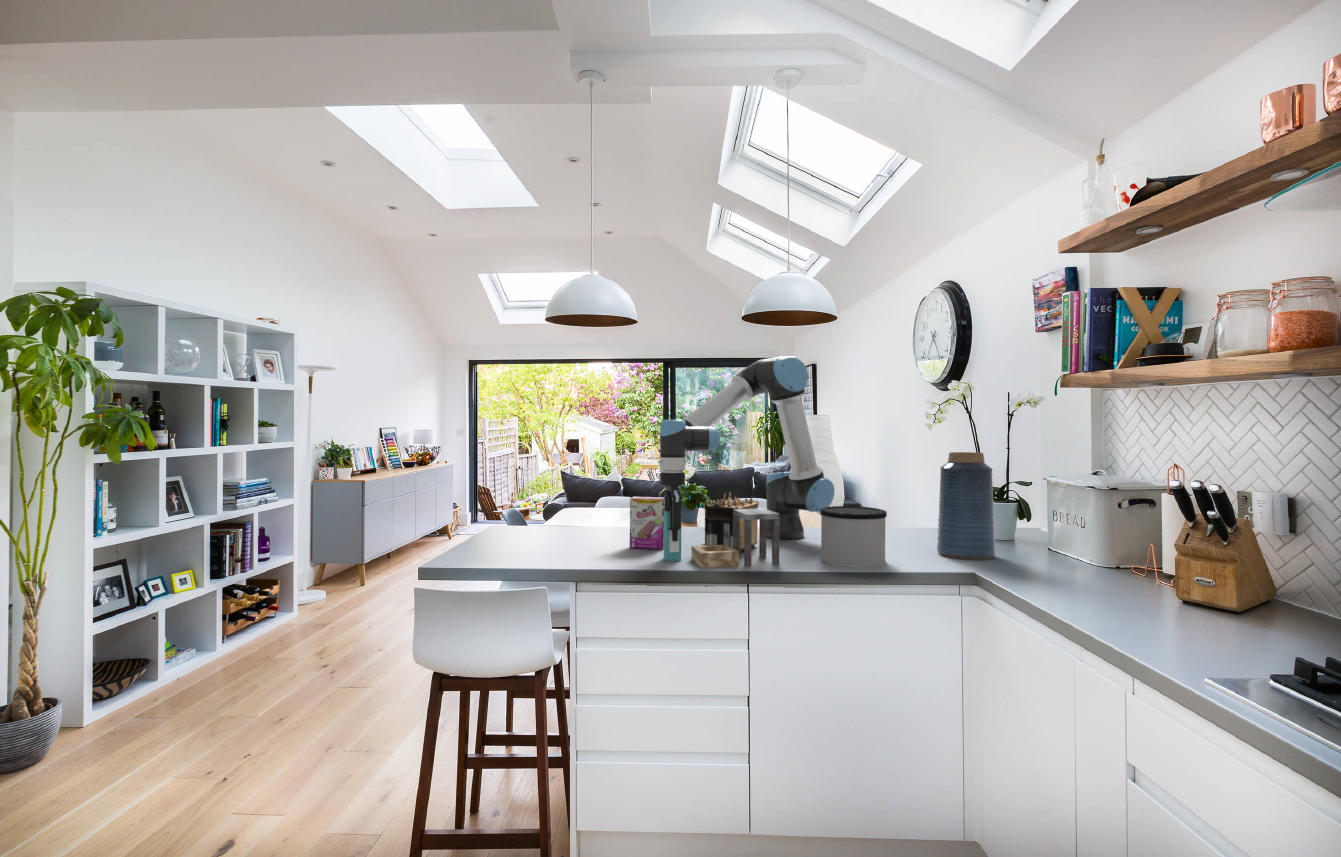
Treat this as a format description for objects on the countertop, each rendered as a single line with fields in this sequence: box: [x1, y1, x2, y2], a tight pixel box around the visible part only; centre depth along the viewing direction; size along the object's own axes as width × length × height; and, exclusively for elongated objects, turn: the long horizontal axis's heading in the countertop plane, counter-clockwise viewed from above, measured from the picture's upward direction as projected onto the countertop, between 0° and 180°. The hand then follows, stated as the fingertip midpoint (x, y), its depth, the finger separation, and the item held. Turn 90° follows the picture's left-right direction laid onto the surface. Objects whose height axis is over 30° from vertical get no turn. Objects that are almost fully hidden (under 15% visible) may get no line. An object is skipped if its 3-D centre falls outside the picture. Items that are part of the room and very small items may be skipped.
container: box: [819, 505, 888, 568], centre depth 188 cm, size 19×19×15 cm
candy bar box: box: [629, 496, 664, 550], centre depth 207 cm, size 11×5×16 cm, turn 84°
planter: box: [700, 491, 760, 555], centre depth 205 cm, size 25×25×19 cm
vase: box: [936, 451, 996, 561], centre depth 196 cm, size 16×16×32 cm
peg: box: [663, 511, 682, 562], centre depth 189 cm, size 4×4×14 cm
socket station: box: [691, 508, 780, 568], centre depth 186 cm, size 23×12×14 cm, turn 102°
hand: (672, 550), depth 189 cm, fingers closed on peg, 4 cm apart
